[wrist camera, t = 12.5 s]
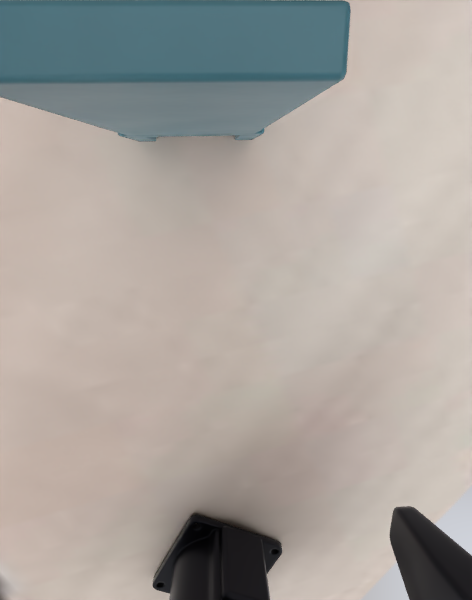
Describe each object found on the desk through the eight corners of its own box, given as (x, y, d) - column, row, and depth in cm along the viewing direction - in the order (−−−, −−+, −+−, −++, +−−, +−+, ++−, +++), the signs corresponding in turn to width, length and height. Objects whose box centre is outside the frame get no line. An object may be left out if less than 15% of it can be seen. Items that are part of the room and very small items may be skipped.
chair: (252, 139, 17) (369, 80, 5) (138, 141, 17) (-78, 83, 4) (252, 4, 16) (435, -695, 3) (125, 4, 15) (-292, -762, 3)
